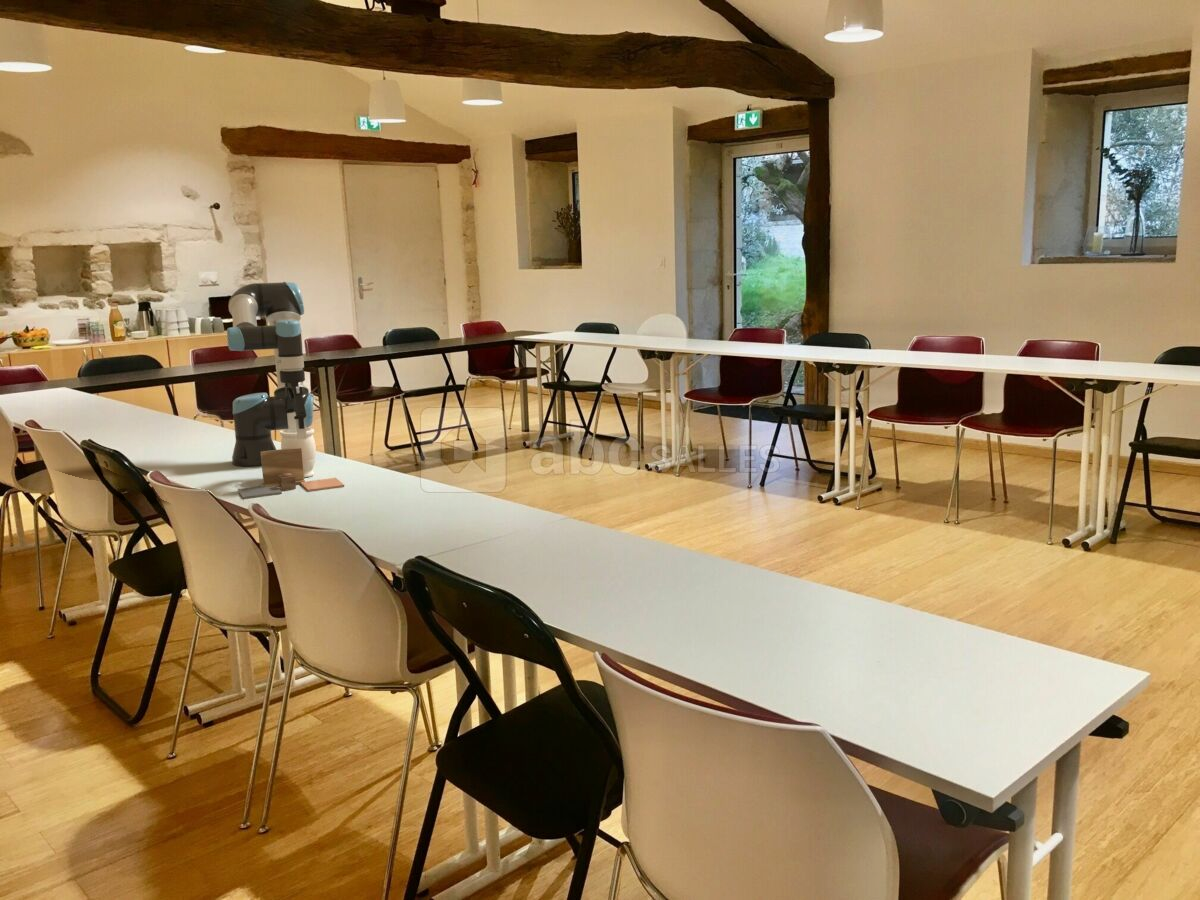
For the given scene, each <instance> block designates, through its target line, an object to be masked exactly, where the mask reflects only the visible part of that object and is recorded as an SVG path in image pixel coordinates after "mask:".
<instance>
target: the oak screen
mask: <svg viewBox="0 0 1200 900" xmlns="http://www.w3.org/2000/svg"><path fill="white" fill-rule="evenodd" d="M261 462H262V465H261V470H262V486H265V487H267V486H275V485H276V486H277V487H278V488H280V482H279V475H282V474H286V473H291V474H293V475H294V476H295V483H296V486H297V485H301V484H300V482H306V480H305V478H304V474H303V462H302V450H301V447H298V448H289V449H281V448H280V449H276V450H271V451H262V452H261Z"/></svg>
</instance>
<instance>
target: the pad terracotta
mask: <svg viewBox="0 0 1200 900" xmlns="http://www.w3.org/2000/svg"><path fill="white" fill-rule="evenodd" d="M299 485H300V486H302V487H303V488H304V489H305V490H306V491H307V492H314V491H316V492H317V491H321V490H322V491H323V490H331V489H339V488H344V487H345V484H344V483H343V482H342V481H340V479H338V478H337V477H331V478H323V479H321V478H320V479H315V480H307V481H306V480H305V482H300V484H299Z"/></svg>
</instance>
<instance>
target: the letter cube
mask: <svg viewBox="0 0 1200 900" xmlns="http://www.w3.org/2000/svg"><path fill="white" fill-rule="evenodd" d="M279 482H280V487H279V489H280V490H281V492H282V491H291V490H296V488H297V485H296V483H295V476H294V475H293V474H291V473H286V474H282V475H279Z"/></svg>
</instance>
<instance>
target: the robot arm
mask: <svg viewBox="0 0 1200 900" xmlns="http://www.w3.org/2000/svg"><path fill="white" fill-rule="evenodd" d="M230 296H231V297H230V298H229V300H228V312H229V313H230V315H231V316H232V318H231V319H232V327H228V328H227V329H226V337H227V346H228V349H229V351H235V352H236V351H239V352H245V351H260V350H262V351H263V350H273V353H274V361H275V371H276V380H277V387H276V389H274V390H273V396H269V395H268V393H267V392H255V393H250V394H244V395H241V396H239V397H236V398H235V399H234V400H233V401H232V415H233V424H234V435H235V443H234V448H233V453H232V455H231V456H232V457H231V461H232V462H231V463H232V465H234V466H238V467H256V466H262V462H261V452H262V451H271V450H277V448H276V445H275V442H274V441H273V438H272V431H279V430H280V431H282V430H286V429H291V428H296V429H297V439H307V437H306V428H311V426H312V425H313V421H314V419H313V417H314V394H313V393H310V391H309V388H308V387H307V386H306V385H305V384H304V382H305V380H306V376H305V370H304V368H305V363H304V361H305V360H304V353H303V337H302V328H301V322H300V321H301V319H302V318H301V316H302V315H304V314H305V307H304V301H303V300H304V299H303V296H302V292H301V290H300V287H299V285H298V283H295V282H286V281H282V282H263V283H262V282H261V283H258V282H257V283H256V282H255V283H249V284H245V285H244V286H241V287H239V288H238V289H237V290H235V291H234V292H233V293H232V295H230ZM257 317H266V322H267V323H268V324H270V325H258V323H257Z"/></svg>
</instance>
